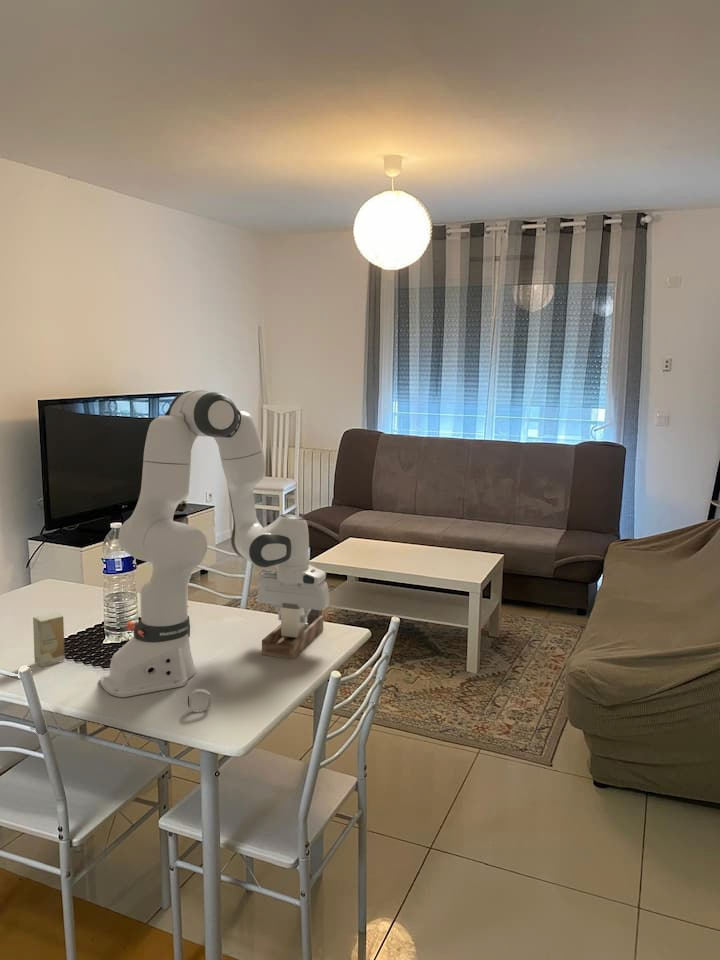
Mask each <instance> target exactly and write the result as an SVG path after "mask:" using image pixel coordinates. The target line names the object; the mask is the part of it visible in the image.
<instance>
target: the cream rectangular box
mask: <svg viewBox="0 0 720 960" xmlns="http://www.w3.org/2000/svg"><path fill="white" fill-rule="evenodd" d="M304 614H305V612H304V608H299V607H298V605H296V604H288V603H283V606H281V620H280V624H281V636H288V637H296V638H297V637H298V636H299V635H300V634H301V633H302V632H303V631H304V630H305V623H300V617H301V616H302V615H304Z"/></svg>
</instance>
